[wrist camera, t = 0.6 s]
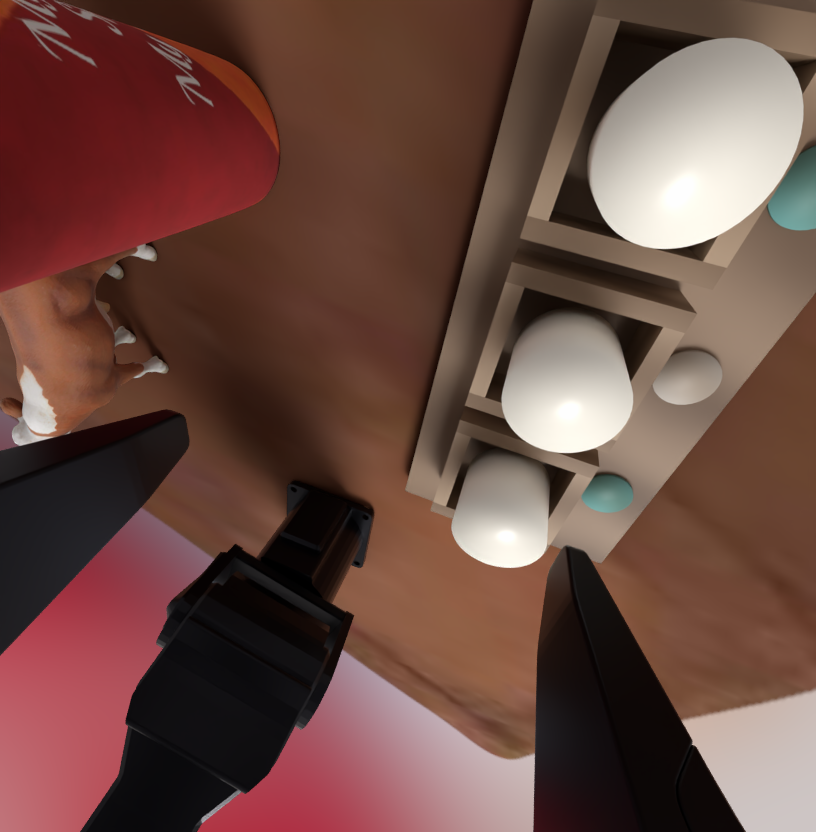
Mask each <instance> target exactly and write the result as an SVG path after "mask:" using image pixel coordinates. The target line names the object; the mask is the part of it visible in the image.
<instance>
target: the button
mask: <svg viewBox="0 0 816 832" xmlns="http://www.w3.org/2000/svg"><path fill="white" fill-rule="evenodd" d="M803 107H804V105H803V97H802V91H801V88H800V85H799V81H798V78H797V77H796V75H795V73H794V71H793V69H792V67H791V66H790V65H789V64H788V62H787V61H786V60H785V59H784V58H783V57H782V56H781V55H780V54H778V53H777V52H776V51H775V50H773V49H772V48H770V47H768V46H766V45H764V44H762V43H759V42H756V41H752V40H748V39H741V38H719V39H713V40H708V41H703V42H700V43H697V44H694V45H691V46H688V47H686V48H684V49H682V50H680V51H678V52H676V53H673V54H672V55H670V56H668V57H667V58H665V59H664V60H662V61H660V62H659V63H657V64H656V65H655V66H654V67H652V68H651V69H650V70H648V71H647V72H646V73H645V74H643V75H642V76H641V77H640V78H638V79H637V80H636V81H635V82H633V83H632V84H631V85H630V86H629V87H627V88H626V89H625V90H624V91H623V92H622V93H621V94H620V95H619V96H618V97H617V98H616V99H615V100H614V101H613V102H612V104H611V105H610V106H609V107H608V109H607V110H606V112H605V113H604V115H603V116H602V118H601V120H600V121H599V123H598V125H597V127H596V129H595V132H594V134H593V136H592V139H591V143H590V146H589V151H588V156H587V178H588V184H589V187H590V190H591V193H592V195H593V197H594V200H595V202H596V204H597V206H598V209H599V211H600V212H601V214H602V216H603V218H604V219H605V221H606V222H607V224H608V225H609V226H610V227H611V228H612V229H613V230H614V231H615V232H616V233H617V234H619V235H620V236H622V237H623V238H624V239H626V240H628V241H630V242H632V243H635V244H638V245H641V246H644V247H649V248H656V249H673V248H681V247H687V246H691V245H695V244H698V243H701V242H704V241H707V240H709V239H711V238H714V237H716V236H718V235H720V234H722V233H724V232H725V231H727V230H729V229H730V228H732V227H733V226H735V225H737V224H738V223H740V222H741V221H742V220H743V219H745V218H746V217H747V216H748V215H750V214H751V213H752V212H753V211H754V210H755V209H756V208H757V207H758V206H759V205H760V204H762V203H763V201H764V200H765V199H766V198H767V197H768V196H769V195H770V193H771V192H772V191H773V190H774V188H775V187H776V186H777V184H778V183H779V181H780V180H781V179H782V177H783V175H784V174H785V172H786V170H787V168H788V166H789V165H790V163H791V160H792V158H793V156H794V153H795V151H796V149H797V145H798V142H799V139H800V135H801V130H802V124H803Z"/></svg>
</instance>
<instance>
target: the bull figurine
mask: <svg viewBox="0 0 816 832" xmlns="http://www.w3.org/2000/svg"><path fill="white" fill-rule="evenodd" d="M127 256H137V257H140V258H143V259H146V260H150V261H156V259H157V253H156V250H155V249H154V248H153V247H151V246H149V245H146V244H143V245H140V246H137V247H134V248H131V249H128V250H125V251H122V252H119V253H116V254H113V255H110V256H107V257H104V258H101V259H98V260H96V261H93V262H90V263H87V264H84V265H81V266H78V267H75V268H72V269H69V270H66V271H63V272H60V273H57V274H54V275H51V276H48V277H45V278H42V279H39V280H36V281H33V282H30V283H27V284H25V285H22V286H19V287H16V288H13V289H10V290H7V291H4V292H1V293H0V315H1V317H2V319H3V321H4V324H5V326H6V329H7V331H8V334H9V338H10V342H11V346H12V349H13V351H14V354H15V357H16V362H17V379H18V382H19V385H20V387H21V390H22V393H23V397H24V400H23V404H22V403H21V402H20V401H18V400H16V399H14V398H4V399H2V400H1V401H0V406H1V408H2V410H3V411H4V412H5V413H6V414H8V415H10V416H13V417H15V418H17V419H18V420H19V424H18V425H16V427H14V428H13V431H12V438H13V440H14V442H15V443H16V444H18V445H19V446H21V445H25V444H29V443H33V442H37V441H41V440H45V439H49V438H53V437H57V436H61V435H65V434H69V433H70V432H71V430H72V429H74V428H76V427H77V426H78V425H79V424H80V423H81V422H83V421H84V420H85V419H86V418H87V417H88V416H89V415H90V414H92V412H93V411H94V410H95V409H97V408H99V407H102V406H104V405H106V404H107V403H109V402H110V401H111V399H112V398H113V396H114V395H115V393H116V389H117V388H118V387H120V386H121V385H123V384H125V383H126V382H127V381H129V380H130V379H132V378H138V377H141V376H142V375H144V374H145V373H146V372H154V371H155V372H160V373H167V371H168V365H167V364H166V363H165V362H163V361H162V360H160V359H158V357H157V356H154V357H152V358H151V359H149V360H148V361H147V362H144V363H139V362H132V363H130V364H125V365H121V364H117V359H116V356H115V354H114V353H115V346H117V345H118V344H121V343H134V342H135V341H136V337H135V335H134V334H132V333H131V332H130V331H128V330H126V329H125V327H124V326H121V327H119V328H118V329H117V331H116V332H115V333H114V328H113V324H112V321H111V319H110V317H109V316H108V314H107V312H108V311H109V310H110V305H109V304H108V303H106V302H102V301H99V300H96V295H95V290H96V286H97V283H98V281H99V279H100V278H101V276H102V275H103V274H104V273H105V272H106V273H107V274H109V275H110V276H113V277H114V278H116V279H121V278H122V277H123V270H122V268H121V267H120V266H119V265H117V264H116V262H117V261H118V260H120V259H123V258H125V257H127Z"/></svg>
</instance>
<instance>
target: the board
mask: <svg viewBox="0 0 816 832" xmlns="http://www.w3.org/2000/svg"><path fill="white" fill-rule="evenodd" d="M719 38H741V39H748V40H752V41H756V42H759V43H762V44H764V45H766V46H768V47H770V48H772V49H773V50H775V51H776V52H777V53H778V54H780V55H781V56H782V57H783V58H784V59H785V60H786V61H787V62H788V64H789V65H790V66H791V67H792V69H793V71H794V73H795V75H796V77H797V78H798V81H799V85H800V88H801V91H802V97H803V105H804V107H803V124H802V130H801V135H800V139H799V142H798V145H797V149H796V151H795V153H794V156H793V158H792V160H791V163H790V165H789V166H788V168H787V170H786V172H785V174H784V175H783V177H782V179H781V180H780V181H779V183H778V184H777V186H776V187H775V188H774V190H773V191H772V192H771V193H770V195H769V196H768V197H767V198H766V199H765V200H764V201H763V203H762V204H760V205H759V206H758V207H757V208H756V209H755V210H754V211H753V212H752V213H751V214H750V215H748V216H747V217H746V218H745V219H743V220H742V221H741V222H740V223H738V224H737V225H735V226H733V227H732V228H730V229H729V230H727V231H725V232H724V233H722V234H720V235H718V236H716V237H714V238H711V239H709V240H707V241H704V242H701V243H698V244H695V245H691V246H687V247H681V248H673V249H656V248H649V247H644V246H641V245H638V244H635V243H632V242H630V241H628V240H626V239H624V238H623V237H622V236H620V235H619V234H617V233H616V232H615V231H614V230H613V229H612V228H611V227H610V226H609V225H608V224H607V222H606V221H605V219H604V218H603V216H602V214H601V212H600V211H599V209H598V206H597V204H596V202H595V200H594V197H593V195H592V193H591V190H590V187H589V184H588V178H587V156H588V151H589V146H590V143H591V139H592V136H593V134H594V132H595V129H596V127H597V125H598V123H599V121H600V120H601V118H602V116H603V115H604V113H605V112H606V110H607V109H608V107H609V106H610V105H611V104H612V102H613V101H614V100H615V99H616V98H617V97H618V96H619V95H620V94H621V93H622V92H623V91H624V90H625V89H626V88H627V87H629V86H630V85H631V84H632V83H633V82H635V81H636V80H637V79H638V78H640V77H641V76H642V75H643V74H645V73H646V72H647V71H648V70H650V69H651V68H652V67H654V66H655V65H656V64H657V63H659V62H660V61H662V60H664V59H665V58H667V57H668V56H670V55H672V54H673V53H676V52H678V51H680V50H682V49H684V48H686V47H688V46H691V45H694V44H697V43H700V42H703V41H708V40H713V39H719ZM815 293H816V0H533V4H532V7H531V11H530V15H529V19H528V23H527V27H526V30H525V34H524V38H523V42H522V46H521V49H520V53H519V57H518V61H517V65H516V69H515V72H514V76H513V80H512V84H511V88H510V92H509V95H508V99H507V103H506V107H505V111H504V115H503V118H502V122H501V126H500V130H499V134H498V137H497V141H496V145H495V149H494V153H493V157H492V160H491V164H490V168H489V172H488V176H487V180H486V183H485V187H484V191H483V195H482V199H481V202H480V206H479V210H478V214H477V218H476V222H475V225H474V229H473V233H472V237H471V241H470V245H469V248H468V252H467V256H466V260H465V264H464V267H463V271H462V275H461V279H460V283H459V287H458V290H457V294H456V298H455V302H454V306H453V310H452V313H451V317H450V321H449V325H448V329H447V333H446V336H445V340H444V344H443V348H442V352H441V355H440V359H439V363H438V367H437V371H436V375H435V378H434V382H433V386H432V390H431V394H430V398H429V401H428V405H427V409H426V413H425V417H424V420H423V424H422V428H421V432H420V436H419V440H418V443H417V447H416V451H415V455H414V459H413V463H412V466H411V470H410V474H409V478H408V482H407V486H406V489H405V491H407V492H410V493H412V494H415V495H418V496H420V497H423V498H426V499H429V500H431V501H433V504H432V507H431V510H430V511H433V512H436V513H438V514H441V515H444V516H446V517H449V518H452V519H453V517H454V514H455V510H456V507H457V504H458V500H459V497H460V494H461V490H462V487H463V483H464V480H465V477H466V473H467V470H468V467H469V465H470V463H471V461H472V460H473V459H474V458H475V457H476V456H477V455H478V454H480V453H482V452H484V451H486V450H489V449H493V448H504V449H507V450H510V451H513V452H516V453H519V454H522V455H525V456H528V457H530V458H533V459H536V460H538V461H539V462H540V463H541V464H542V465H543V466H544V467H545V469H546V471H547V473H548V475H549V479H550V493H549V514H548V534H547V547H546V550H545V552H546V551H547V549H548V547H549V546H550V545H552V546H555V547H558V548H560V549H562V548H563V547H564V546H565V545H569V546H572V547H575V548H578V549H581V550H583V551H585V552H586V553H587V554H588V556H589V558H590V559H591V560H593V561H595V562H598V563H602V561H603V560H604V559H605V558H606V556H607V555H608V554H609V553H610V551H611V550H612V549H613V548H614V546H615V545H616V544H617V542H618V541H619V540H620V539H621V537H622V536H623V535H624V534H625V532H626V531H627V530H628V529H629V527H630V526H631V525H632V524H633V522H634V521H635V520H636V518H637V517H638V516H639V515H640V513H641V512H642V511H643V510H644V508H645V507H646V506H647V505H648V503H649V502H650V501H651V500H652V498H653V497H654V496H655V495H656V493H657V492H658V491H659V489H660V488H661V487H662V486H663V484H664V483H665V482H666V481H667V479H668V478H669V477H670V476H671V474H672V473H673V472H674V471H675V469H676V468H677V467H678V465H679V464H680V463H681V462H682V460H683V459H684V458H685V457H686V455H687V454H688V453H689V452H690V450H691V449H692V448H693V447H694V445H695V444H696V443H697V441H698V440H699V439H700V438H701V436H702V435H703V434H704V433H705V431H706V430H707V429H708V428H709V426H710V425H711V424H712V423H713V421H714V420H715V419H716V418H717V416H718V415H719V414H720V412H721V411H722V410H723V409H724V407H725V406H726V405H727V404H728V402H729V401H730V400H731V399H732V397H733V396H734V395H735V394H736V392H737V391H738V390H739V388H740V387H741V386H742V385H743V383H744V382H745V381H746V380H747V378H748V377H749V376H750V375H751V373H752V372H753V371H754V370H755V368H756V367H757V366H758V364H759V363H760V362H761V361H762V359H763V358H764V357H765V356H766V354H767V353H768V352H769V351H770V349H771V348H772V347H773V346H774V344H775V343H776V342H777V341H778V339H779V338H780V337H781V335H782V334H783V333H784V332H785V330H786V329H787V328H788V327H789V325H790V324H791V323H792V322H793V320H794V319H795V318H796V317H797V315H798V314H799V313H800V311H801V310H802V309H803V308H804V306H805V305H806V304H807V303H808V301H809V300H810V299H811V298H812V296H813V295H814V294H815ZM560 308H580V309H584V310H588V311H591V312H593V313H595V314H597V315H599V316H601V317H602V318H604V319H605V320H606V321H607V322H608V323H609V324H610V325H611V326H612V327H613V329H614V330H615V332H616V333H617V335H618V338H619V341H620V344H621V348H622V352H623V356H624V360H625V363H626V367H627V371H628V375H629V379H630V383H631V387H632V392H633V407H632V411H631V414H630V417H629V419H628V421H627V423H626V424H625V426H624V427H623V428H622V430H621V431H620V432H619V433H618V434H617V435H616V436H614V437H613V438H612V439H611V440H609V441H608V442H606V443H604V444H603V445H600V446H598V447H596V448H593V449H590V450H587V451H582V452H576V453H557V452H551V451H547V450H543V449H540V448H538V447H535V446H533V445H531V444H529V443H527V442H526V441H524V440H523V439H522V438H520V437H519V436H518V435H517V434H516V433H515V432H514V431H513V430H512V428H511V427H510V426H509V424H508V422H507V420H506V418H505V416H504V413H503V409H502V392H503V388H504V384H505V380H506V376H507V372H508V368H509V364H510V360H511V356H512V352H513V348H514V345H515V342H516V339H517V337H518V335H519V334H520V332H521V331H522V330H523V328H524V327H525V326H526V325H527V324H528V323H529V322H530V321H532V320H533V319H535V318H536V317H538V316H539V315H541V314H543V313H546V312H548V311H551V310H555V309H560ZM545 552H544V553H545Z"/></svg>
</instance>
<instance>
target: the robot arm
mask: <svg viewBox="0 0 816 832" xmlns="http://www.w3.org/2000/svg"><path fill="white" fill-rule="evenodd" d="M189 442H190V441H189V435H188V429H187V423H186V419H185V417H184V415H182V414H181V413H178V412H175V411H172V410H167V409H166V410H161V411H157V412H153V413H149V414H145V415H141V416H137V417H133V418H129V419H125V420H121V421H117V422H113V423H109V424H105V425H101V426H97V427H93V428H89V429H85V430H81V431H77V432H73V433H69V434H65V435H61V436H57V437H53V438H49V439H45V440H41V441H37V442H33V443H29V444H25V445H21V446H17V447H13V448H10V449H6V450H1V451H0V655H1V654H2V653H3V652H4V651H5V650H6V649H7V648H8V647H9V646H10V645H11V644H12V643H13V642H14V641H15V640H16V639H17V638H18V636H19V635H20V634H21V633H22V632H23V631H24V630H25V629H26V628H27V627H28V626H29V625H30V624H31V623H32V622H33V621H34V620H35V619H36V618H37V616H38V615H39V614H40V613H41V612H42V611H43V610H44V609H45V608H46V607H47V606H48V605H49V604H50V603H51V602H52V600H53V599H55V598H56V596H57V595H58V594H59V593H60V592H61V591H62V590H63V589H64V588H65V587H66V586H67V585H68V584H69V583H70V582H71V581H72V580H73V579H74V578H75V576H76V575H77V574H78V573H79V572H80V571H81V570H82V569H83V568H84V567H85V566H86V565H87V564H88V563H89V562H90V560H92V559H93V557H94V556H95V555H96V554H97V553H98V552H99V551H100V550H101V549H102V548H103V547H104V546H105V545H106V544H107V543H108V542H109V541H110V539H112V537H113V536H114V535H115V534H116V533H117V532H118V531H119V530H120V529H121V528H122V527H123V526H124V525H125V524H126V523H127V522H128V521H129V520H130V519H131V518H132V516H133V515H134V514H135V513H136V512H137V511H138V510H139V509H140V508H141V507H142V506H143V505H144V504H145V503H146V501H147V500H148V499H149V498H150V497H151V495H152V494H153V493H154V492H155V491H156V489H157V488H158V487H159V485H160V484H161V483H162V482H163V480H164V479H165V478H166V476H167V475H168V474H169V473H170V471H171V470H172V469H173V467H174V466H175V465H176V464H177V462H178V461H179V460H180V458H181V457H182V456H183V455H184V453H185V452H186V451H187V449H188V446H189ZM373 519H374V513H373V511H372V510H370V509H368V508H366V507H363V506H361V505H358V504H355V503H353V502H350V501H348V500H345V499H342V498H340V497H337V496H335V495H332V494H329V493H327V492H324V491H321V490H319V489H316V488H314V487H311V486H308V485H306V484H303V483H301V482H298V481H291V482H290V484H289V485H288V487H287V517H286V518H285V520H284V521H283V522H282V524H281V525H280V526H279V528H278V529H277V530H276V532H275V533H274V535H273V536H272V537H271V539H270V540H269V541H268V543H267V544H266V545H265V547H264V548H263V549H262V551H261V552H260V554H259V555H258V556H257V558H255V557H254V556H252V555H250V554H249V553H247V552H245V551H244V550H242V549H243V548H242V547H240V546H238V545H237V544H235V545H234V546H233V547H232V548H231V549H230V550H229V551H228V552H227V553H226V552H220V554H219V555H218V556H217V557H216V558H215V560H214V561H213V562H212V563H211V565H210V566H209V567H208V568H207V569H206V570H205V571H204V572H203V573H202V574H201V575H200V576H199V577H198V578H197V579H196V580H195V581H193V582H192V583H191V584H190V585H189V586H188V587H186V588H185V589H184V590H183V591H182V592H180V593H179V594H178V595H177V596H176V597H175V598H174V599H173V600H172V601H171V602H170V603H169V605H168V606H167V621H166V623H165V625H164V626H163V630H162V631H161V633H160V635H159V637H158V639H157V642H156V644H157V645H159V646H160V647H162V648H163V649H162V651H161V652H160V654H159V655H158V656H157V658H156V659H155V661H154V662H153V663H152V665H151V666H150V668H149V669H148V670H147V672H146V673H145V675H144V676H143V677H142V679H141V680H140V682H139V683H138V685H137V687H136V690H135V692H134V693H133V695H132V698H131V701H130V705H129V709H128V713H127V717H126V725H128V730H127V735H126V740H125V745H124V750H123V756H122V761H121V766H120V771H119V775H118V777H117V778H116V780H115V781H114V783H113V784H112V786H111V787H110V789H109V790H108V792H107V793H106V795H105V796H104V798H103V799H102V801H101V802H100V804H99V805H98V806H97V808H96V809H95V811H94V812H93V814H92V815H91V817H90V818H89V820H88V821H87V823H86V824H85V826H84V827H83V828H82V830H81V831H80V832H197V831H198V829H199V828H200V826H201V824H202V823H203V822H204V821H205V820H207V819H208V818H209V817H210V816H212V815H213V814H214V813H215V812H217V811H218V810H219V809H220V808H222V807H223V806H224V805H226V804H227V803H228V802H230V801H231V800H232V799H233V798H235V797H236V796H237V795H238V794H240V793H241V792H243V793H245V794H246V793H247V792H249V791H250V790H251V789H252V788H254V787H255V786H256V785H257V784H258V783H259V782H260V781H261V780H262V779H263V778H265V777H266V776H267V775H268V773H269V772H270V770H271V768H272V767H273V766H274V764H275V763H276V761H277V759H278V757H279V755H280V753H281V752H282V750H283V748H284V746H285V744H286V742H287V740H288V738H289V736H290V734H291V733H292V731H293V729H294V727H295V726H296V727H298V728H299V729H303V728H304V727H305V726H306V725H307V723H308V722H309V721H310V719H311V718H312V716H313V715H314V713H315V711H316V709H317V708H318V706H319V704H320V702H321V700H322V698H323V696H324V694H325V692H326V690H327V688H328V686H329V684H330V681H331V679H332V677H333V674H334V671H335V668H336V666H337V663H338V660H339V657H340V654H341V651H342V649H343V646H344V643H345V640H346V637H347V635H348V632H349V629H350V626H351V623H352V620H353V617H354V615H353V614H351V613H349V612H348V611H346V612H345V611H343V610H341V609H340V608H338V607H336V606H335V605H333V604H332V602H333V600H334V598H335V596H336V594H337V592H338V590H339V588H340V586H341V584H342V582H343V580H344V578H345V576H346V574H347V572H348V570H349V568H350V566H351V565H352V566H355V567H358V568H361V567H362V566H363V564H364V562H365V558H366V553H367V548H368V544H369V539H370V534H371V529H372V524H373ZM534 781H535V783H534V830H533V832H746V831H745V830H744V828H743V826H742V825H741V823H740V822H739V820H738V818H737V817H736V815H735V813H734V812H733V810H732V808H731V806H730V805H729V803H728V801H727V800H726V798H725V796H724V794H723V793H722V791H721V789H720V788H719V786H718V784H717V783H716V781H715V780H714V777H713V776H712V774H711V772H710V770H709V769H708V767H707V765H706V763H705V761H704V760H703V758H702V756H701V754H700V753H699V751H698V749H697V747H696V746H694V745H692V739H691V737H690V735H689V733H688V732H687V730H686V728H685V726H684V725H683V723H682V721H681V719H680V717H679V716H678V714H677V712H676V710H675V709H674V707H673V705H672V703H671V701H670V700H669V698H668V696H667V694H666V693H665V691H664V689H663V687H662V685H661V684H660V682H659V680H658V678H657V677H656V675H655V673H654V671H653V669H652V668H651V666H650V664H649V662H648V661H647V659H646V657H645V655H644V653H643V652H642V650H641V648H640V646H639V645H638V643H637V641H636V639H635V637H634V636H633V634H632V632H631V630H630V629H629V627H628V625H627V623H626V622H625V620H624V618H623V616H622V614H621V613H620V611H619V609H618V607H617V606H616V604H615V602H614V600H613V598H612V597H611V595H610V593H609V591H608V590H607V588H606V586H605V584H604V582H603V581H602V579H601V577H600V575H599V574H598V572H597V570H596V568H595V566H594V565H593V563H592V561H591V559H590V558H589V556H588V554H587V553H586V552H585V551H583V550H581V549H578V548H575V547H572V546H569V545H565V546H564V547H563V548H562V549H561V551H560V553H559V554H558V556H557V558H556V559H555V561H554V563H553V564H552V566H551V568H550V570H549V573H548V577H547V584H546V591H545V598H544V605H543V612H542V620H541V627H540V634H539V642H538V651H537V684H536V732H535V779H534Z"/></svg>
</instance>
